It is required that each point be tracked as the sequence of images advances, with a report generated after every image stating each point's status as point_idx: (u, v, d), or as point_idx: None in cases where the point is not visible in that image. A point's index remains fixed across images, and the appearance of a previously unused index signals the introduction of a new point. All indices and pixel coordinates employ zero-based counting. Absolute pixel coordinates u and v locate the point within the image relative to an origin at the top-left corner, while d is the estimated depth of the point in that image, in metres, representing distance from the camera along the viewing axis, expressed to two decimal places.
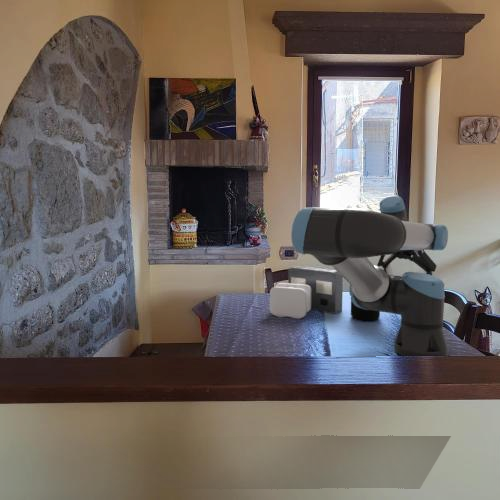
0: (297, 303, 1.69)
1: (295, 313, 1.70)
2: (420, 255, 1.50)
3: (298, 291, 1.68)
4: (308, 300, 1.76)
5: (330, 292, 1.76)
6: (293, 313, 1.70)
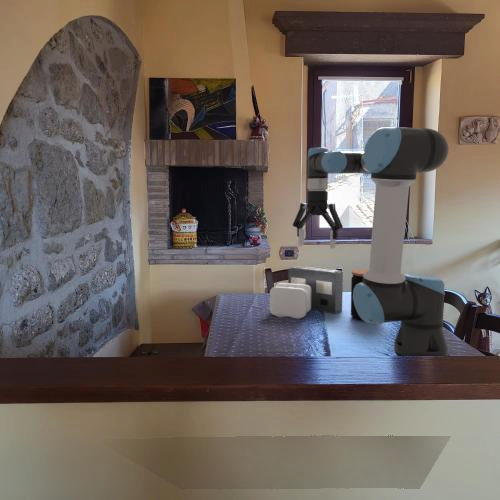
0: (297, 303, 1.69)
1: (295, 313, 1.70)
2: (330, 209, 1.63)
3: (298, 291, 1.68)
4: (308, 300, 1.76)
5: (330, 292, 1.76)
6: (293, 313, 1.70)
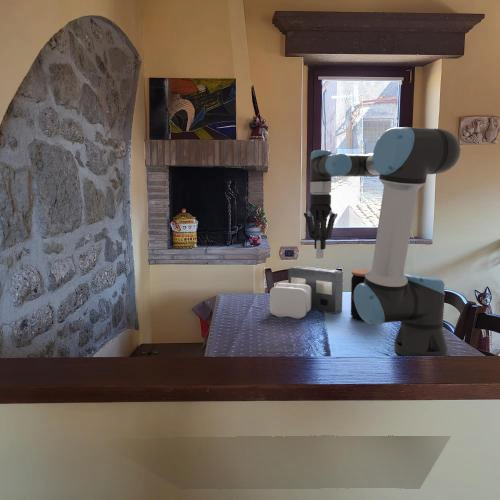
0: (297, 303, 1.69)
1: (295, 313, 1.70)
2: (331, 218, 1.59)
3: (298, 291, 1.68)
4: (308, 300, 1.76)
5: (330, 292, 1.76)
6: (293, 313, 1.70)
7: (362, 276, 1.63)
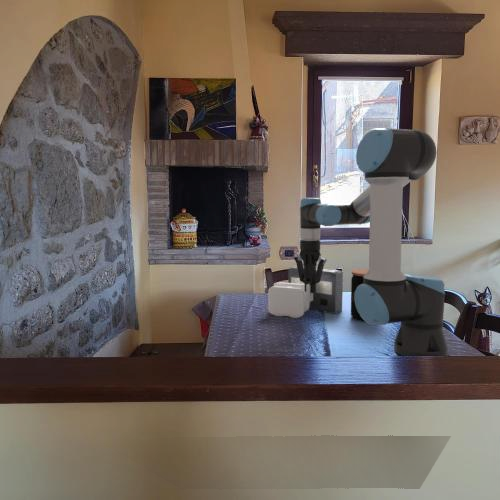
0: (295, 303, 1.69)
1: (293, 312, 1.70)
2: (320, 263, 1.64)
3: (296, 290, 1.69)
4: None
5: (330, 292, 1.76)
6: (291, 312, 1.71)
7: (362, 276, 1.63)
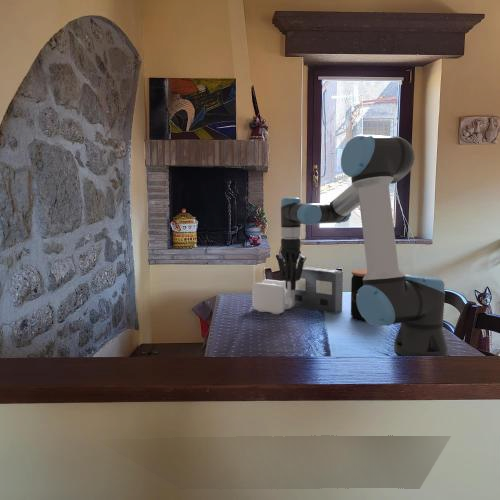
0: (275, 299, 1.75)
1: (273, 308, 1.76)
2: (300, 261, 1.69)
3: (276, 287, 1.74)
4: None
5: (330, 292, 1.76)
6: (271, 308, 1.76)
7: (362, 276, 1.63)
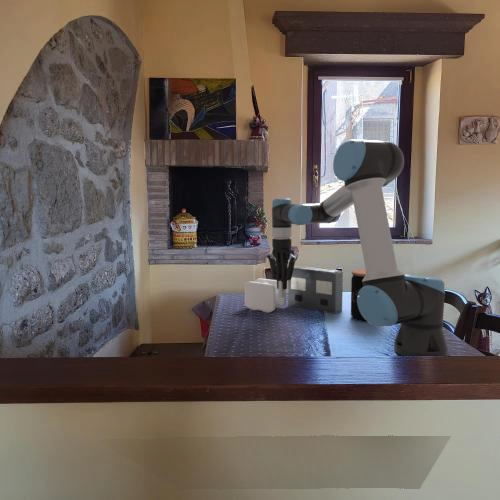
0: (266, 298, 1.78)
1: (264, 307, 1.79)
2: (290, 261, 1.72)
3: (267, 286, 1.77)
4: None
5: (330, 292, 1.76)
6: (263, 307, 1.79)
7: (362, 276, 1.63)
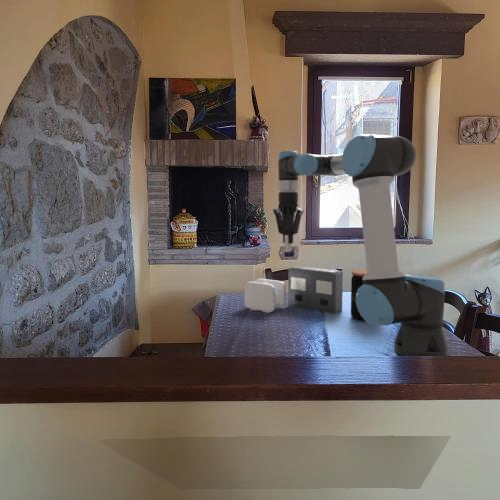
0: (266, 298, 1.78)
1: (264, 307, 1.79)
2: (297, 214, 1.71)
3: (267, 286, 1.77)
4: (282, 296, 1.83)
5: (330, 292, 1.76)
6: (263, 307, 1.79)
7: (362, 276, 1.63)
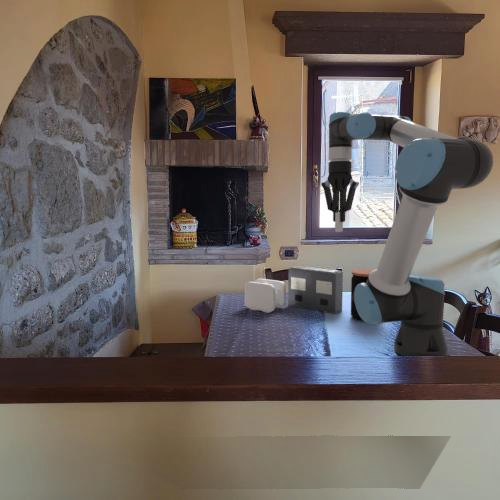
0: (266, 298, 1.78)
1: (264, 307, 1.79)
2: (351, 186, 1.46)
3: (267, 286, 1.77)
4: (282, 296, 1.83)
5: (330, 292, 1.76)
6: (263, 307, 1.79)
7: (362, 276, 1.63)
